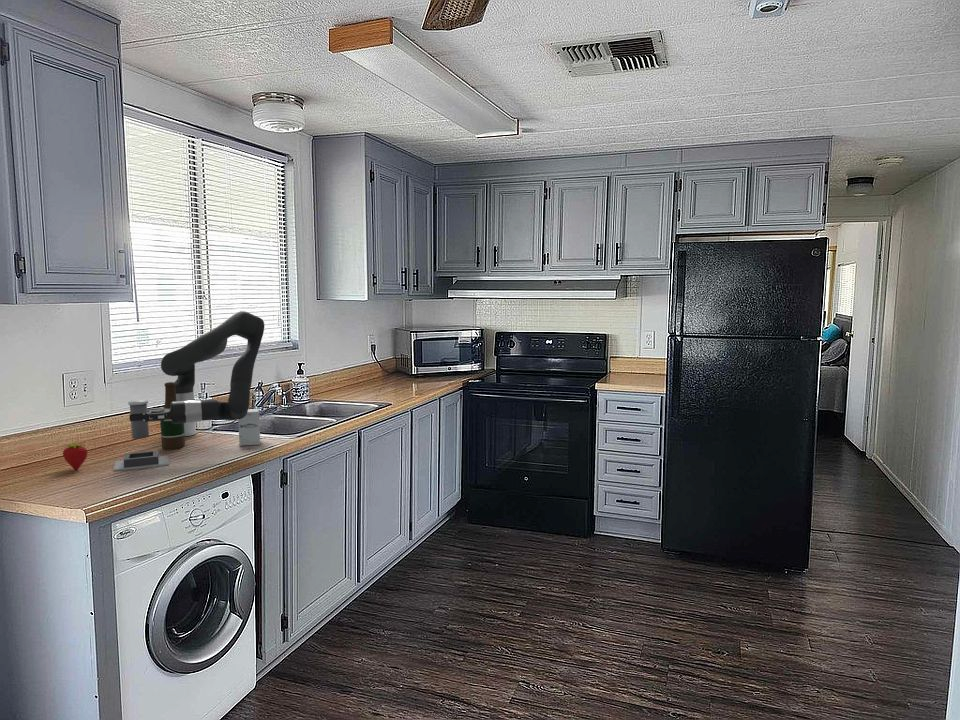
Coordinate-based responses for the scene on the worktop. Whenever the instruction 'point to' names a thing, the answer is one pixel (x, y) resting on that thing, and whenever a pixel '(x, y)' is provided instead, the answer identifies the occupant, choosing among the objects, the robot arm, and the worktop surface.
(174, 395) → the beer bottle
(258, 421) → the supplement box
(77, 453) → the strawberry
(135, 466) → the grey recessed tray
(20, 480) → the worktop surface
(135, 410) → the gray flanged cylinder
